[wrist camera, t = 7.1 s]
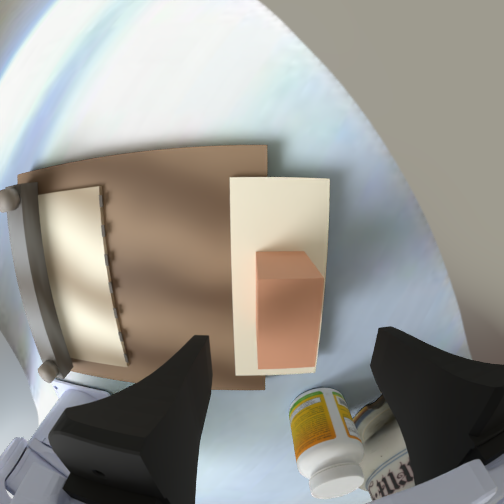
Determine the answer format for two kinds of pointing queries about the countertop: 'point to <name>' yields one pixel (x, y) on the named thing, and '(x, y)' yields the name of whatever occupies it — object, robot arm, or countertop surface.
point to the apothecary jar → (382, 451)
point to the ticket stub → (278, 272)
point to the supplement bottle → (326, 443)
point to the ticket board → (130, 259)
